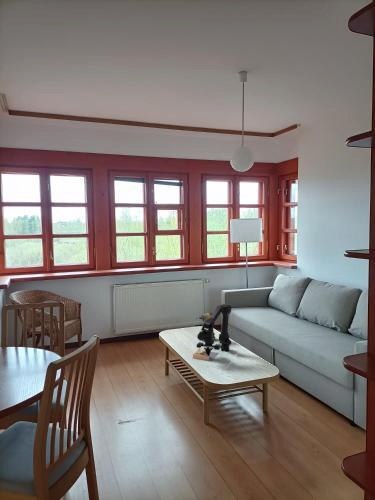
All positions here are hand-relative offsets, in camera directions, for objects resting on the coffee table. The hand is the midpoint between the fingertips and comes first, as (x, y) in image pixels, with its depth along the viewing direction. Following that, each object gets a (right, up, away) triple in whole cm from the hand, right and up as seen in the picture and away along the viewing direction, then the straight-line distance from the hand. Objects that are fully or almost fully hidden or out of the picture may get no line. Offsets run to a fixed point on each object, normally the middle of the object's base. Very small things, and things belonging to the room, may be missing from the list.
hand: (208, 356), depth 295 cm
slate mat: (-2, -1, +5) cm, 6 cm away
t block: (-6, -1, +3) cm, 7 cm away
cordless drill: (-1, +2, +45) cm, 45 cm away
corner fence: (-4, -1, +4) cm, 6 cm away
